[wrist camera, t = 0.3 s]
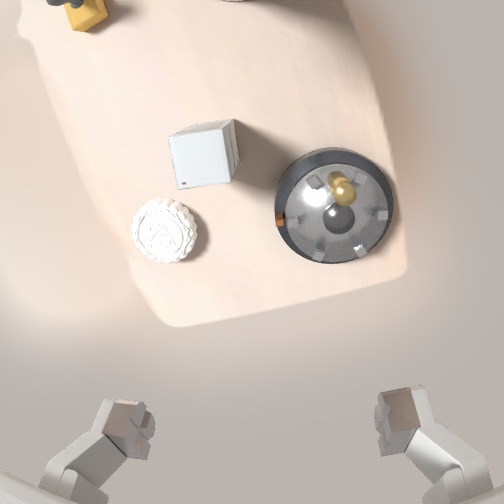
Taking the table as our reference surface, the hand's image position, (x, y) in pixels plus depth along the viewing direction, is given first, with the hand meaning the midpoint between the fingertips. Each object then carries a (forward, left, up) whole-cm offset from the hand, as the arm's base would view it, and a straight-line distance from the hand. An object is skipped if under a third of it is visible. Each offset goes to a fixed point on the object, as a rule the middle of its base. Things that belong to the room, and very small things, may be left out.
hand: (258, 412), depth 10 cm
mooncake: (+13, -21, -46) cm, 52 cm away
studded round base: (+12, +9, -43) cm, 45 cm away
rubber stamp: (-32, -27, -46) cm, 62 cm away
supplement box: (-1, -9, -46) cm, 47 cm away
